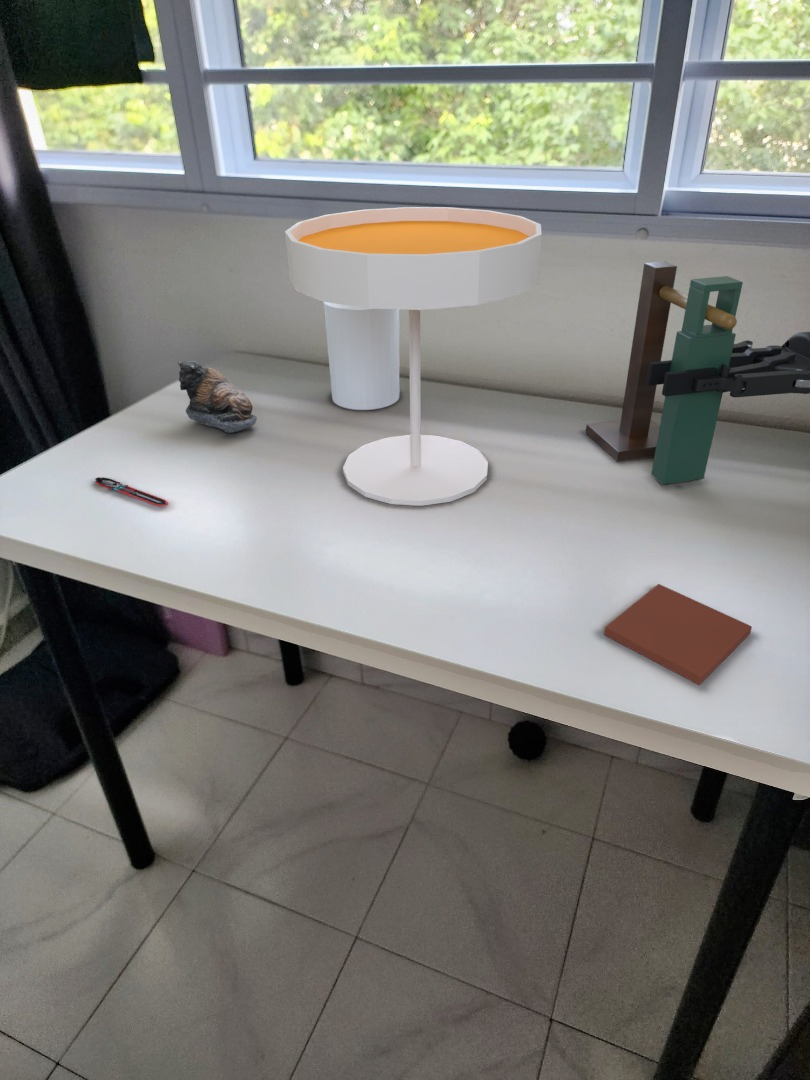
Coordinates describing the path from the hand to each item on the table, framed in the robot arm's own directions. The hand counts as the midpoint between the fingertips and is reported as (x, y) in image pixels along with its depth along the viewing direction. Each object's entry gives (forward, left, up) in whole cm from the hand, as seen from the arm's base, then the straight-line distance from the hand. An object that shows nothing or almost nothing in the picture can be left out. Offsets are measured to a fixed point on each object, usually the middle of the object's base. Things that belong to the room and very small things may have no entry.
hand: (657, 379), depth 90 cm
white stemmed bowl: (+24, +17, -15) cm, 33 cm away
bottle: (+49, +4, -15) cm, 52 cm away
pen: (+46, +48, -15) cm, 68 cm away
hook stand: (+3, -8, -15) cm, 17 cm away
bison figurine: (+56, +28, -15) cm, 65 cm away
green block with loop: (-3, -5, -14) cm, 15 cm away
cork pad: (-19, +24, -15) cm, 34 cm away
